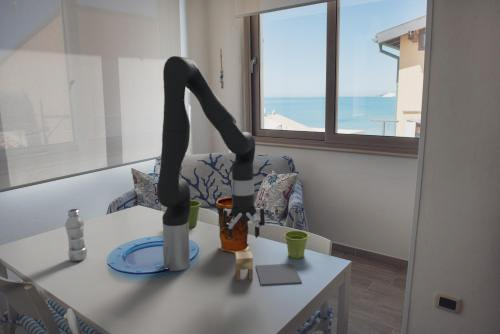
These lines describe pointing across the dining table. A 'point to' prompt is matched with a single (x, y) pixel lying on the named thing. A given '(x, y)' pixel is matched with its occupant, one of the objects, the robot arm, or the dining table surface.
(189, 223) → the plant pot
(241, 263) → the notched wooden block
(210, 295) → the dining table surface
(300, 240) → the plant pot
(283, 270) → the mat
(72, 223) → the plastic bottle
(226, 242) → the vessel
